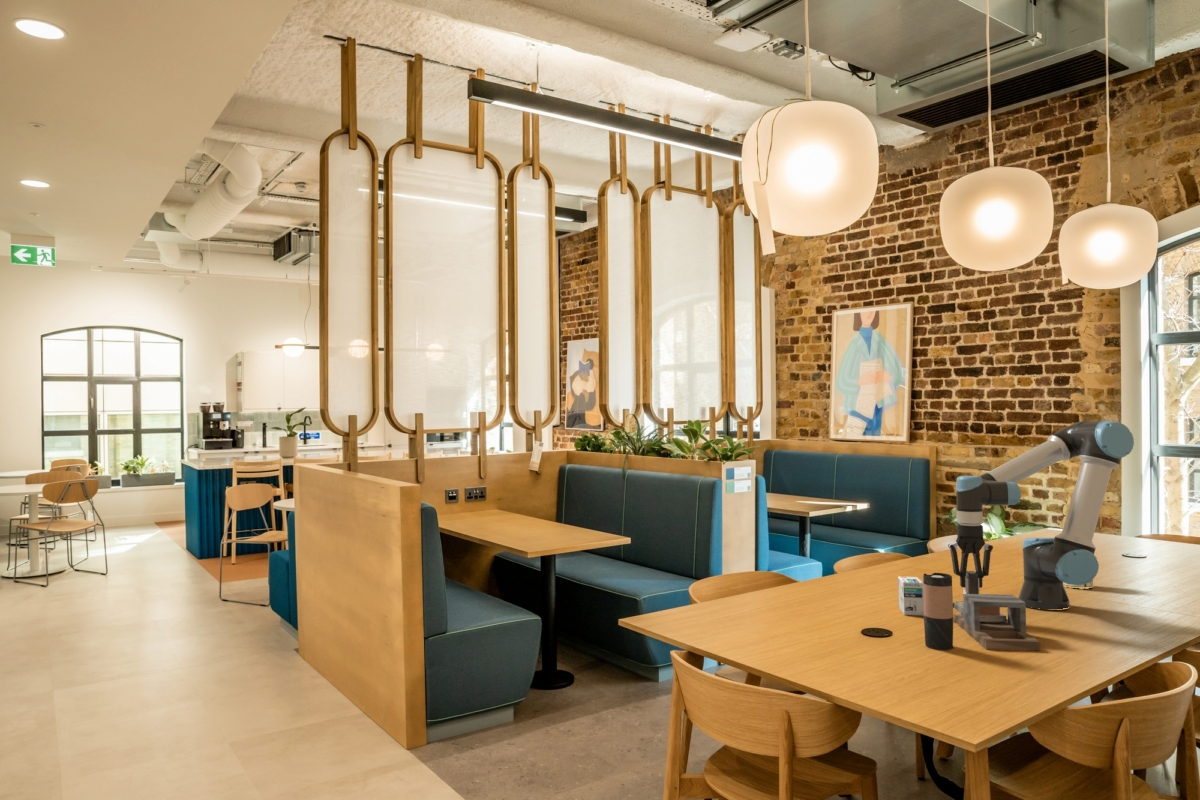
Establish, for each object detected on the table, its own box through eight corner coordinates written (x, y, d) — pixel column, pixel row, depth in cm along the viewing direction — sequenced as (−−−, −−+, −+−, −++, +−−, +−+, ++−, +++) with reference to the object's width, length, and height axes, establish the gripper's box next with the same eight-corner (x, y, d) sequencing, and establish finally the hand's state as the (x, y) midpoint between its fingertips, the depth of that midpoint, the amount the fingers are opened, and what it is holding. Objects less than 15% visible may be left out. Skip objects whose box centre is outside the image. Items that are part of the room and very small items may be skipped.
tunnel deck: (954, 621, 248) (953, 586, 248) (1001, 623, 246) (1000, 587, 246) (985, 649, 218) (985, 609, 219) (1039, 650, 216) (1038, 610, 217)
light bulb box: (925, 616, 255) (924, 582, 255) (903, 615, 256) (903, 582, 257) (919, 608, 266) (918, 576, 266) (898, 607, 267) (897, 575, 267)
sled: (954, 607, 254) (953, 570, 254) (987, 608, 253) (986, 571, 253) (971, 621, 237) (970, 581, 237) (1006, 622, 236) (1005, 582, 236)
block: (993, 617, 243) (992, 601, 243) (1000, 622, 237) (999, 605, 237) (969, 616, 244) (968, 600, 244) (975, 621, 238) (975, 605, 238)
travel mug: (951, 651, 216) (950, 578, 217) (922, 647, 220) (920, 576, 221) (955, 644, 223) (954, 574, 223) (926, 641, 227) (925, 571, 227)
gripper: (991, 522, 256) (993, 595, 255) (940, 522, 258) (942, 594, 257) (999, 525, 248) (1001, 600, 247) (947, 525, 250) (949, 599, 250)
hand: (971, 597), depth 252 cm, fingers closed on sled, 3 cm apart
